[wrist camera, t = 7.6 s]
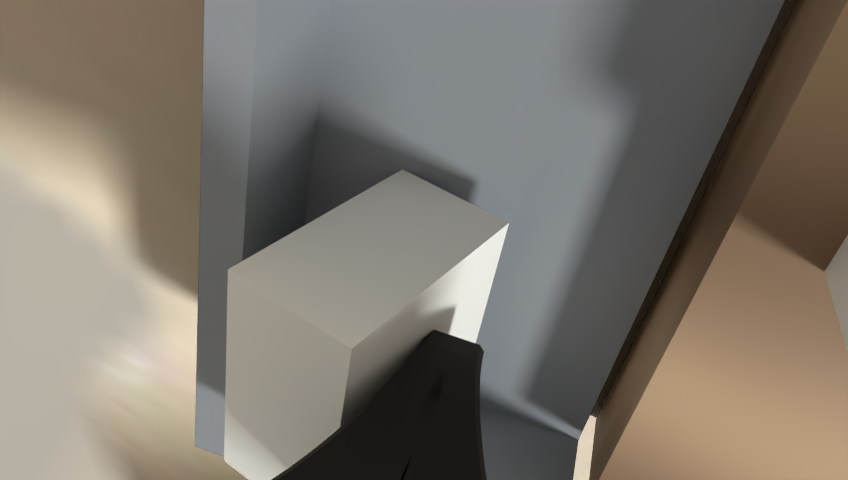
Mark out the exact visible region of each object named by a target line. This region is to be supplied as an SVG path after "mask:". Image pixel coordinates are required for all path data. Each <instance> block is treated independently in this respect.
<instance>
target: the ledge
mask: <svg viewBox="0 0 848 480" xmlns="http://www.w3.org/2000/svg"><path fill="white" fill-rule="evenodd" d="M847 235H848V0H797V2H796V4H795V6H794V8H793V10H792V12H791V14H790V16H789V18H788V21H787V23H786V25H785V27H784V29H783V31H782V33H781V35H780V37H779V39H778V41H777V43H776V46H775V48H774V50H773V52H772V54H771V56H770V58H769V60H768V62H767V64H766V66H765V68H764V71H763V73H762V75H761V77H760V79H759V81H758V83H757V85H756V87H755V89H754V91H753V93H752V96H751V98H750V100H749V102H748V104H747V106H746V108H745V110H744V112H743V114H742V116H741V118H740V121H739V123H738V125H737V127H736V129H735V131H734V133H733V135H732V137H731V139H730V141H729V143H728V146H727V148H726V150H725V152H724V154H723V156H722V158H721V160H720V162H719V164H718V166H717V168H716V171H715V173H714V175H713V177H712V179H711V181H710V183H709V185H708V187H707V189H706V191H705V194H704V196H703V198H702V200H701V202H700V204H699V206H698V208H697V210H696V212H695V214H694V216H693V219H692V221H691V223H690V225H689V227H688V229H687V231H686V233H685V235H684V237H683V239H682V241H681V244H680V246H679V248H678V250H677V252H676V254H675V256H674V258H673V260H672V262H671V264H670V266H669V269H668V271H667V273H666V275H665V277H664V279H663V281H662V283H661V285H660V287H659V289H658V291H657V294H656V296H655V298H654V300H653V302H652V304H651V306H650V308H649V310H648V312H647V314H646V316H645V319H644V321H643V323H642V325H641V327H640V329H639V331H638V333H637V335H636V337H635V339H634V341H633V344H632V346H631V348H630V350H629V352H628V354H627V356H626V358H625V360H624V362H623V364H622V366H621V369H620V371H619V373H618V375H617V377H616V379H615V381H614V383H613V385H612V387H611V389H610V392H609V394H608V396H607V398H606V400H605V402H604V404H603V406H602V408H601V410H600V412H599V414H598V417H597V419H596V425H595V434H594V443H593V452H592V461H591V469H590V478H589V480H848V351H847V348H846V344H845V341H844V337H843V334H842V330H841V327H840V323H839V320H838V317H837V313H836V310H835V306H834V303H833V299H832V296H831V293H830V289H829V286H828V282H827V279H826V275H825V272H824V271H825V270H826V268H827V267H828V265H829V264H830V262H831V260H832V259H833V257H834V256H835V254H836V253H837V251H838V249H839V248H840V246H841V245H842V243H843V242H844V240H845V238H846V237H847Z"/></svg>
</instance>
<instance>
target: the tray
mask: <svg viewBox="0 0 848 480" xmlns="http://www.w3.org/2000/svg"><path fill="white" fill-rule="evenodd" d="M784 1H785V0H204V44H203V91H202V138H201V184H200V231H199V277H198V324H197V371H196V417H195V446H196V447H199V448H202V449H204V450H207V451H210V452H213V453H215V454H218V455H221V456H223V457H224V436H225V386H226V336H227V286H228V269H230V268H231V267H233V266H235V265H236V264H238V263H240V262H242V261H243V260H245V259H247V258H249V257H250V256H252V255H254V254H256V253H257V252H259V251H261V250H263V249H264V248H266V247H268V246H270V245H271V244H273V243H275V242H277V241H278V240H280V239H282V238H284V237H285V236H287V235H289V234H291V233H292V232H294V231H296V230H298V229H299V228H301V227H303V226H305V225H306V224H308V223H310V222H312V221H313V220H315V219H317V218H319V217H320V216H322V215H324V214H325V213H327V212H329V211H331V210H332V209H334V208H336V207H338V206H339V205H341V204H343V203H345V202H346V201H348V200H350V199H352V198H353V197H355V196H357V195H359V194H360V193H362V192H364V191H366V190H367V189H369V188H371V187H373V186H374V185H376V184H378V183H380V182H381V181H383V180H385V179H387V178H388V177H390V176H392V175H394V174H395V173H397V172H399V171H401V170H405V171H407V172H409V173H411V174H413V175H415V176H417V177H419V178H421V179H423V180H425V181H427V182H429V183H431V184H433V185H435V186H437V187H439V188H441V189H443V190H445V191H447V192H449V193H451V194H453V195H455V196H457V197H459V198H461V199H463V200H465V201H467V202H469V203H471V204H473V205H475V206H476V207H478V208H480V209H482V210H484V211H486V212H488V213H490V214H492V215H494V216H496V217H498V218H500V219H502V220H504V221H506V222H508V223H509V225H508V229H507V232H506V236H505V239H504V243H503V247H502V250H501V254H500V257H499V261H498V265H497V268H496V272H495V275H494V279H493V283H492V286H491V290H490V293H489V297H488V301H487V304H486V308H485V311H484V315H483V319H482V322H481V326H480V329H479V333H478V337H477V340H476V344H479V345H480V346H481V347H482V349H483V351H484V355H483V359H482V366H481V376H480V421H481V433H482V445H483V455H484V464H485V471H486V478H487V480H573V475H574V468H575V460H576V453H577V446H578V439H579V437H580V435H581V433H582V431H583V429H584V427H585V424H586V422H587V420H588V418H589V416H590V414H591V412H592V410H593V407H594V405H595V403H596V401H597V399H598V397H599V395H600V393H601V390H602V388H603V386H604V384H605V382H606V380H607V378H608V376H609V373H610V371H611V369H612V367H613V365H614V363H615V361H616V359H617V356H618V354H619V352H620V350H621V348H622V346H623V344H624V342H625V339H626V337H627V335H628V333H629V331H630V329H631V327H632V325H633V322H634V320H635V318H636V316H637V314H638V312H639V310H640V308H641V305H642V303H643V301H644V299H645V297H646V295H647V293H648V291H649V288H650V286H651V284H652V282H653V280H654V278H655V276H656V274H657V271H658V269H659V267H660V265H661V263H662V261H663V259H664V257H665V254H666V252H667V250H668V248H669V246H670V244H671V242H672V239H673V237H674V235H675V233H676V231H677V229H678V227H679V225H680V222H681V220H682V218H683V216H684V214H685V212H686V210H687V208H688V205H689V203H690V201H691V199H692V197H693V195H694V193H695V191H696V188H697V186H698V184H699V182H700V180H701V178H702V176H703V174H704V171H705V169H706V167H707V165H708V163H709V161H710V159H711V157H712V154H713V152H714V150H715V148H716V146H717V144H718V142H719V140H720V137H721V135H722V133H723V131H724V129H725V127H726V125H727V123H728V120H729V118H730V116H731V114H732V112H733V110H734V108H735V106H736V103H737V101H738V99H739V97H740V95H741V93H742V91H743V89H744V86H745V84H746V82H747V80H748V78H749V76H750V74H751V72H752V69H753V67H754V65H755V63H756V61H757V59H758V57H759V55H760V52H761V50H762V48H763V46H764V44H765V42H766V40H767V38H768V35H769V33H770V31H771V29H772V27H773V25H774V23H775V21H776V18H777V16H778V14H779V12H780V10H781V8H782V6H783V4H784Z"/></svg>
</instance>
